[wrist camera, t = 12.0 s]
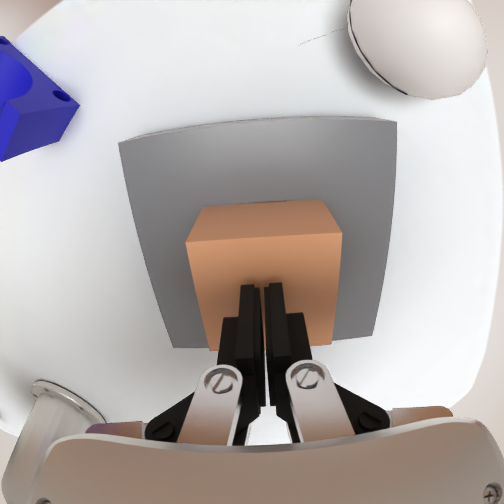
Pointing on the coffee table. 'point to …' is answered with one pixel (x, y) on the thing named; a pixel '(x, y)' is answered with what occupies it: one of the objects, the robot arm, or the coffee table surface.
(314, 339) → the tan block
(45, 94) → the cable clip
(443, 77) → the white piece
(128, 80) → the coffee table surface
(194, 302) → the flat gray square plate
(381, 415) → the robot arm
